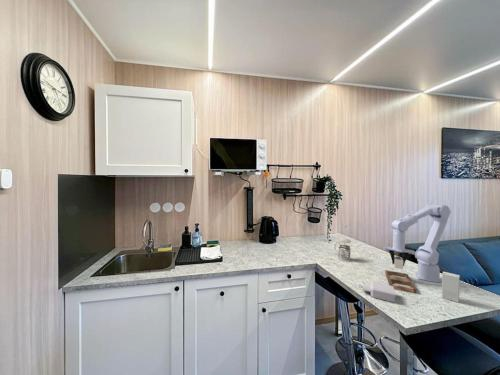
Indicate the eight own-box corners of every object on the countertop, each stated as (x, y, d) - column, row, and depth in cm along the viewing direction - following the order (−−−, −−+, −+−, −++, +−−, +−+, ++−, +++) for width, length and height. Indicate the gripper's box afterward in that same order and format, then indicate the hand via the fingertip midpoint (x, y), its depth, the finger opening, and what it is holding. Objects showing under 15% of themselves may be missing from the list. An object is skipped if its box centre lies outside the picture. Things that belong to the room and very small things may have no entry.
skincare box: (459, 299, 101) (460, 274, 101) (458, 303, 98) (460, 277, 98) (442, 294, 106) (443, 270, 106) (441, 298, 103) (442, 273, 103)
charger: (358, 286, 113) (392, 294, 106) (358, 294, 105) (394, 303, 98) (359, 278, 113) (393, 285, 106) (358, 285, 105) (395, 293, 97)
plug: (401, 266, 124) (401, 256, 124) (402, 269, 120) (403, 259, 119) (393, 264, 126) (393, 255, 126) (394, 267, 121) (394, 257, 121)
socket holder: (407, 277, 126) (407, 273, 125) (416, 293, 107) (416, 289, 107) (385, 273, 130) (385, 270, 130) (390, 288, 112) (390, 284, 112)
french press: (353, 262, 147) (354, 226, 147) (335, 261, 150) (336, 225, 149) (349, 257, 157) (350, 224, 156) (333, 256, 159) (334, 223, 159)
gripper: (384, 241, 122) (384, 264, 122) (416, 244, 115) (415, 269, 116) (383, 238, 128) (382, 260, 129) (413, 241, 122) (412, 265, 122)
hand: (398, 264), depth 123 cm, fingers closed on plug, 4 cm apart
